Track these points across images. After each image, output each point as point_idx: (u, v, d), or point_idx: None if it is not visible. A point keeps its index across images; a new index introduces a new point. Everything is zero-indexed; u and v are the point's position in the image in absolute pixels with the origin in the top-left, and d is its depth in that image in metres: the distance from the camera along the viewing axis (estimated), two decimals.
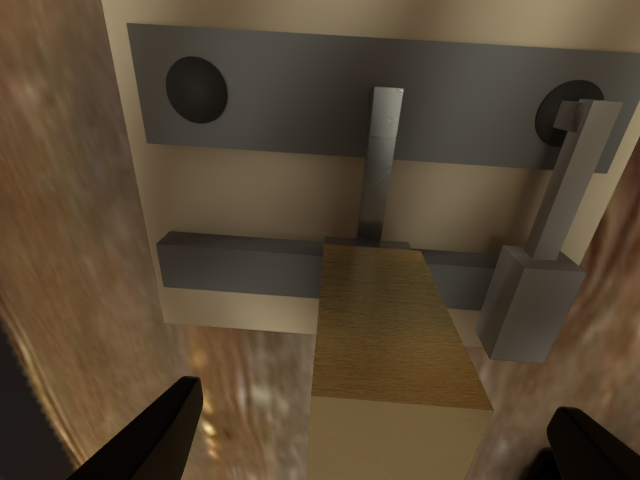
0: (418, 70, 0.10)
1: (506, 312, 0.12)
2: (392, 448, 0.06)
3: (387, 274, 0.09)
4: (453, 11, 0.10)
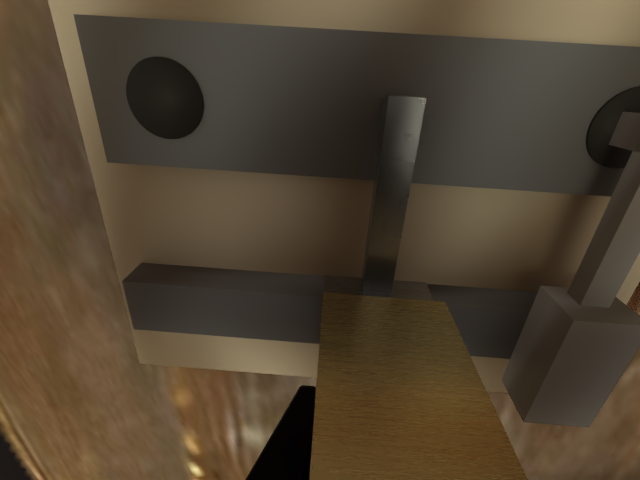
0: (441, 74, 0.08)
1: (546, 370, 0.10)
2: None
3: (406, 341, 0.07)
4: None
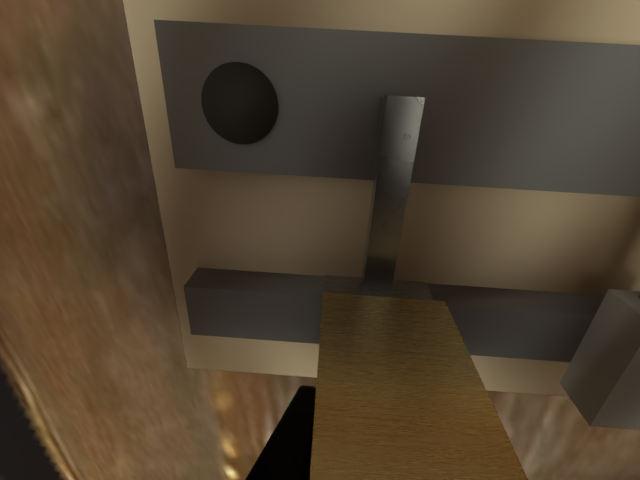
0: (523, 77, 0.08)
1: (619, 374, 0.10)
2: None
3: (405, 341, 0.07)
4: (570, 2, 0.08)
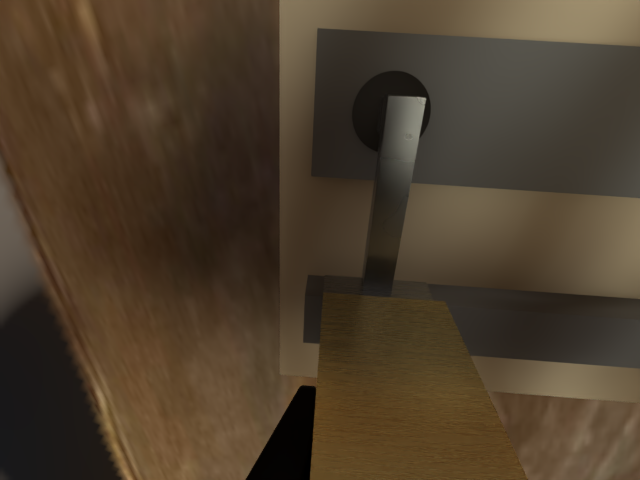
0: None
1: None
2: None
3: (406, 341, 0.07)
4: None
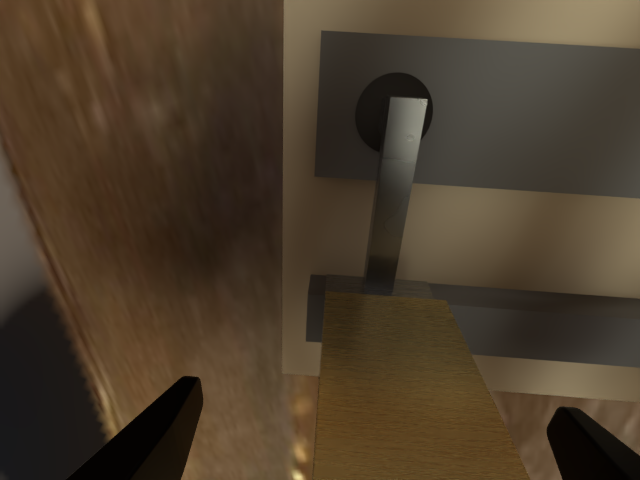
0: None
1: None
2: None
3: (407, 339, 0.07)
4: None
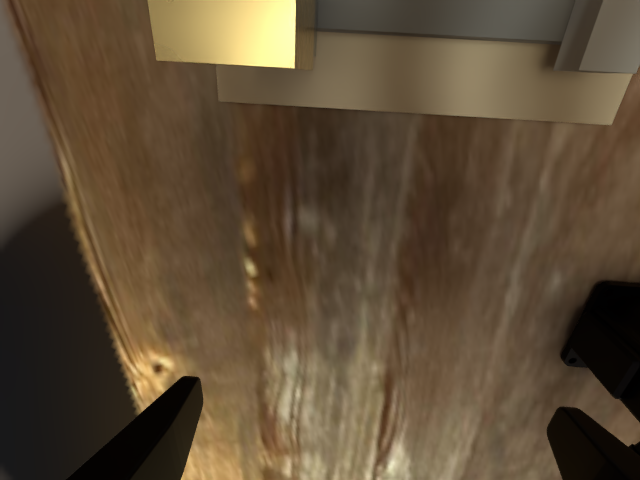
0: None
1: None
2: None
3: None
4: None
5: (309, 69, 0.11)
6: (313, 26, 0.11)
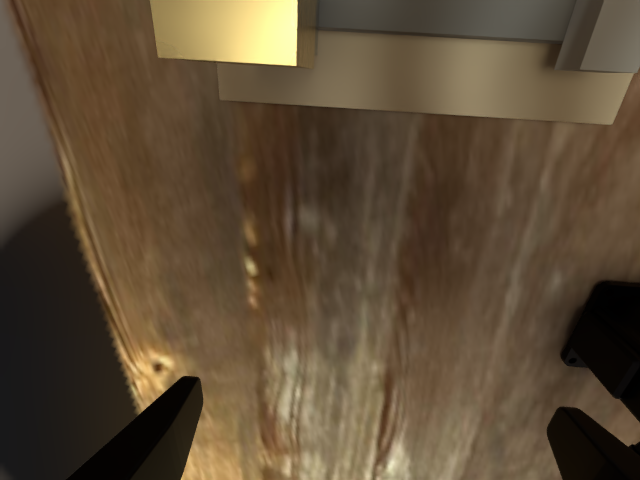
0: None
1: None
2: None
3: None
4: None
5: (310, 67, 0.11)
6: (314, 24, 0.11)
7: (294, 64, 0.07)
